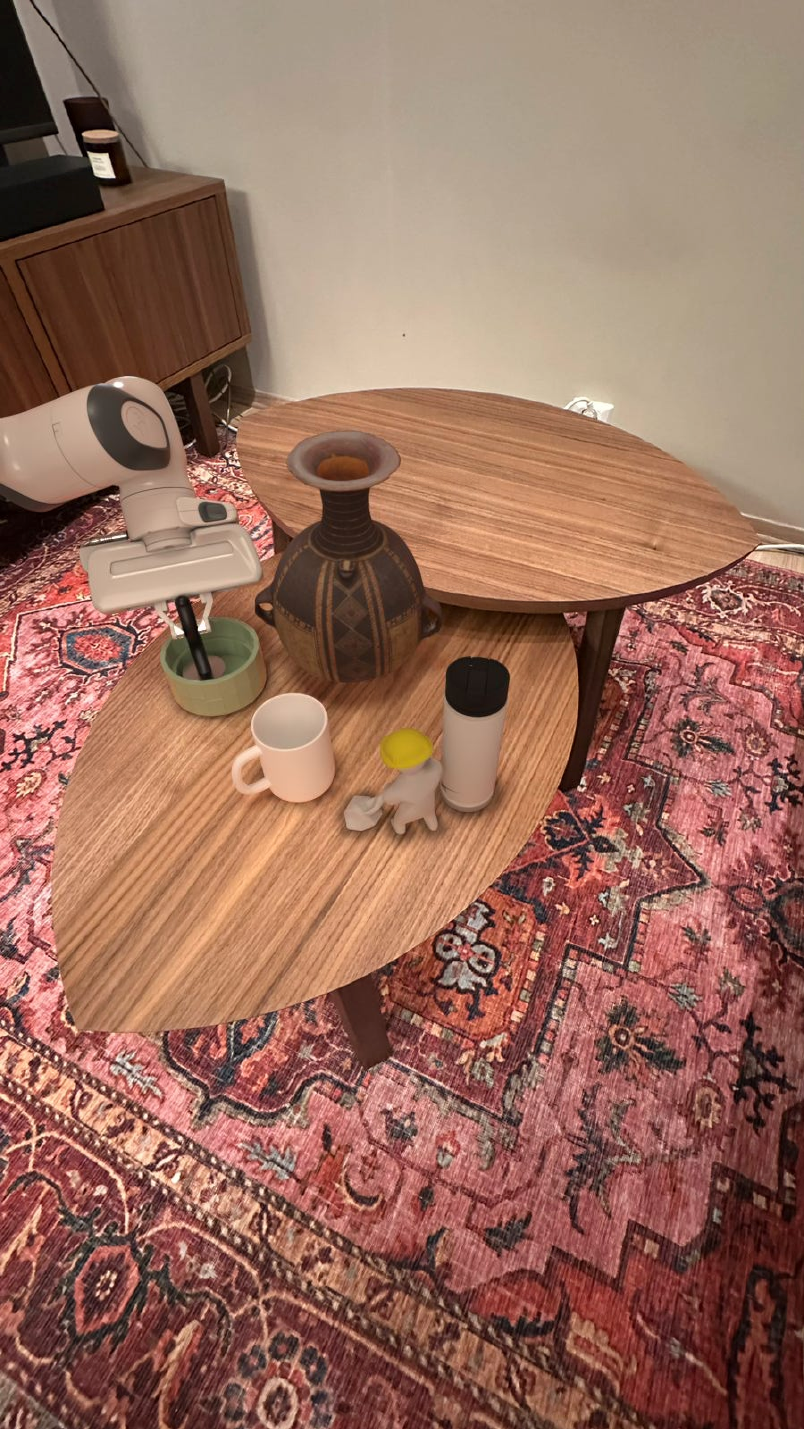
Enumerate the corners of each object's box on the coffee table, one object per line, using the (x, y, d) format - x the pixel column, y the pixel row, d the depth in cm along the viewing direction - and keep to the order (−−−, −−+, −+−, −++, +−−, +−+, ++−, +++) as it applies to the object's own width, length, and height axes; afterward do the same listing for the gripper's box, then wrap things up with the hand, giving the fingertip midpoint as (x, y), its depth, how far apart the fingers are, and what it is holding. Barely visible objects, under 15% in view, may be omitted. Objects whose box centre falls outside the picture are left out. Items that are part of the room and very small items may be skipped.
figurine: (399, 768, 82) (396, 681, 71) (453, 815, 78) (460, 731, 66) (333, 816, 78) (319, 733, 66) (387, 870, 73) (382, 790, 62)
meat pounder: (192, 701, 88) (163, 618, 77) (180, 673, 91) (150, 590, 81) (234, 686, 90) (211, 602, 79) (221, 660, 93) (197, 576, 82)
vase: (248, 684, 92) (193, 480, 69) (314, 598, 103) (286, 398, 80) (406, 734, 86) (403, 528, 63) (458, 636, 97) (471, 432, 74)
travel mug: (436, 812, 78) (440, 693, 63) (443, 765, 82) (449, 644, 67) (490, 819, 77) (509, 701, 62) (495, 772, 81) (513, 651, 66)
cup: (349, 781, 81) (342, 726, 73) (260, 834, 76) (242, 781, 69) (312, 737, 85) (302, 681, 78) (226, 785, 81) (205, 731, 73)
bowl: (188, 732, 86) (174, 697, 81) (163, 670, 94) (149, 635, 89) (280, 697, 90) (272, 662, 85) (249, 641, 97) (240, 605, 92)
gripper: (67, 533, 77) (99, 653, 79) (247, 502, 81) (274, 616, 83) (81, 545, 84) (110, 655, 85) (247, 515, 88) (273, 621, 89)
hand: (193, 636), depth 84 cm, fingers closed on meat pounder
